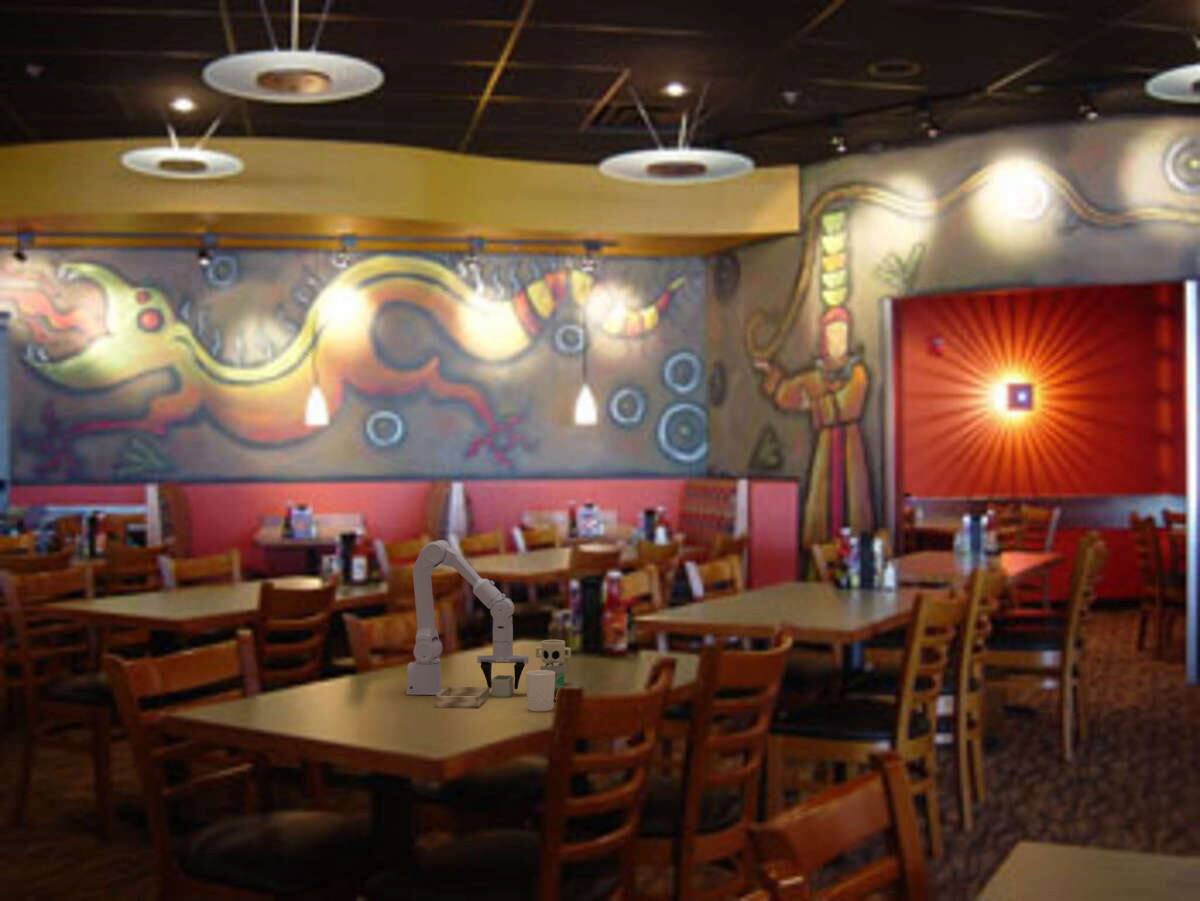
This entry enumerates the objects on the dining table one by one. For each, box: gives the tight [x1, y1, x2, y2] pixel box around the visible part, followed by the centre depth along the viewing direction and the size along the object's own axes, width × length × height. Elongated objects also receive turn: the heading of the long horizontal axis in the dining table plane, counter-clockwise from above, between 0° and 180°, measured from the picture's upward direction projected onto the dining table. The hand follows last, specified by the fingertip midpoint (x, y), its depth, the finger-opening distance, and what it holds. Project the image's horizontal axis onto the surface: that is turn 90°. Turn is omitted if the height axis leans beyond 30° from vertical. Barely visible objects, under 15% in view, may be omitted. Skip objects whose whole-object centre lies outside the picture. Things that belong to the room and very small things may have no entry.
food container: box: [539, 660, 568, 702], centre depth 393 cm, size 12×6×10 cm, turn 168°
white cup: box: [525, 669, 555, 712], centre depth 378 cm, size 8×8×10 cm
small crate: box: [491, 674, 515, 698], centre depth 400 cm, size 5×8×5 cm, turn 174°
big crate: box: [434, 686, 490, 709], centre depth 388 cm, size 12×16×3 cm
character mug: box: [535, 639, 572, 666], centre depth 418 cm, size 11×7×13 cm, turn 76°
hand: (502, 688), depth 400 cm, fingers open, 7 cm apart
